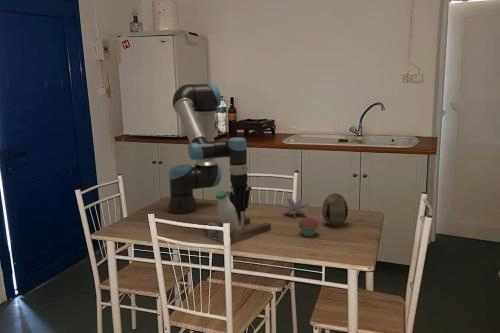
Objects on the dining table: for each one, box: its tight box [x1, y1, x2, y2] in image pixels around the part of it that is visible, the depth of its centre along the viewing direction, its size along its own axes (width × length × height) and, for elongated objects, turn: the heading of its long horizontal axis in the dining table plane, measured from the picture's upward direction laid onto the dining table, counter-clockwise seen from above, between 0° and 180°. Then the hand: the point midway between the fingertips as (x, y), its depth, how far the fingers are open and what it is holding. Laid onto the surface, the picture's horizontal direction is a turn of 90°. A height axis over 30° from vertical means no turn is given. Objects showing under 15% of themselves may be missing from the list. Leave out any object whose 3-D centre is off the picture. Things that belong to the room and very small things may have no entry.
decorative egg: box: [321, 192, 349, 227], centre depth 206 cm, size 12×12×15 cm
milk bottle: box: [215, 190, 243, 234], centre depth 193 cm, size 8×8×20 cm
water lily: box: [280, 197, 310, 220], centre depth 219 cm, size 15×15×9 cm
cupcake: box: [298, 206, 320, 237], centre depth 194 cm, size 9×8×12 cm
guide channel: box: [204, 216, 272, 245], centre depth 199 cm, size 16×25×6 cm, turn 134°
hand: (240, 225), depth 199 cm, fingers closed
